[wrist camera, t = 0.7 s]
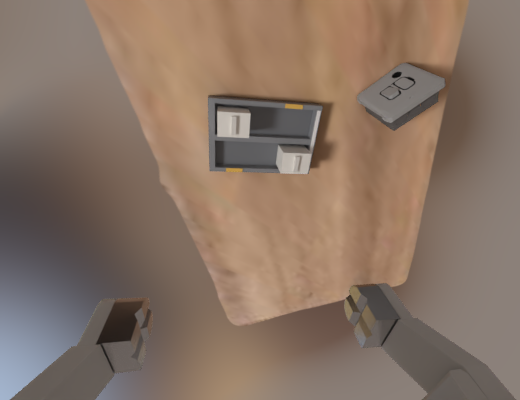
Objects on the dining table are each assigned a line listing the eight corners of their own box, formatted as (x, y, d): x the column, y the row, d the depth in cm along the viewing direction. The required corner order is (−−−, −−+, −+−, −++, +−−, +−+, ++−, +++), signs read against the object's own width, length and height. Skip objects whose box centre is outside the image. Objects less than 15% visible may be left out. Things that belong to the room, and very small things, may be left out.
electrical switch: (402, 61, 41) (446, 68, 33) (409, 87, 44) (450, 99, 36) (353, 96, 43) (385, 111, 35) (363, 119, 46) (393, 137, 38)
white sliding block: (278, 144, 44) (284, 153, 40) (304, 145, 45) (312, 154, 41) (275, 163, 46) (281, 174, 42) (300, 164, 47) (308, 175, 43)
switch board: (208, 95, 39) (207, 97, 37) (317, 103, 42) (323, 106, 40) (210, 165, 46) (209, 171, 44) (305, 168, 49) (308, 173, 46)
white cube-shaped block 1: (217, 105, 39) (217, 112, 35) (248, 108, 40) (250, 114, 36) (217, 129, 41) (217, 137, 37) (246, 130, 42) (249, 139, 38)
